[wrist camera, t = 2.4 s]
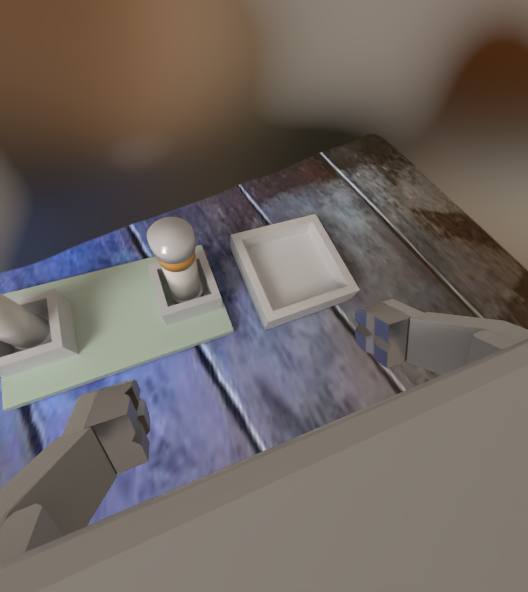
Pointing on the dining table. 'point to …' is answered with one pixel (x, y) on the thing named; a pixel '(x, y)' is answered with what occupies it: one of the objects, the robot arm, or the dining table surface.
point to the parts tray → (291, 270)
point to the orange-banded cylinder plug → (176, 257)
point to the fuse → (22, 326)
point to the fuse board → (107, 327)
